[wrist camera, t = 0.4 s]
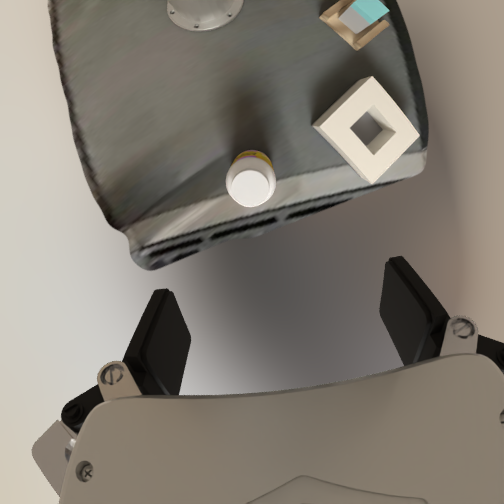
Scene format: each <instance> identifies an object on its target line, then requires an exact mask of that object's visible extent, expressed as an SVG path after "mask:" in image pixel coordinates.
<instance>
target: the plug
mask: <svg viewBox="0 0 504 504" xmlns="http://www.w3.org/2000/svg"><path fill="white" fill-rule="evenodd" d="M388 11H389V10H388V9H387V8H386V7H385V6H384V5H383V4H382V3H381V2H380V1H379V0H356V1H355V2H354V3H353V4H352V5H351V6H350V7H349V8H348V9H347V10H346V11H345V12H344V13H343V14H342V15H341V16H340V17H339V18H338V19H339V20H340V21H341V22H343V23H344V24H345V25H346V26H347V27H348V28H349V29H350V30H352V31H353V32H354V33H355V34H358V33H359V32H361V31H362V30H363V29H365V28H366V27H368V26H369V25H371V24H372V23H374V22H375V21H376V20H378V19H379V18H380V17H382V16H383V15H384V14H386V13H387V12H388Z"/></svg>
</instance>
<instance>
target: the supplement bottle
mask: <svg viewBox="0 0 504 504" xmlns="http://www.w3.org/2000/svg"><path fill="white" fill-rule="evenodd" d="M275 186H276V177H275V173H274V169H273V166H272V163H271V161H270V159H269V158H268V157H267V156H266V155H265V154H264V153H262V152H260V151H256V150H248V151H244V152H242V153H241V154H239V155H238V156H237V157H236V158H235V160H234V161H233V163H232V165H231V167H230V169H229V171H228V173H227V176H226V187H227V190H228V192H229V194H230V195H231V197H232V198H233V199H234V200H235V201H237V202H238V203H239V204H241V205H243V206H246V207H255V206H258V205H260V204H262V203H264V202H265V201H267V200H268V199H269V198H270V197H271V195H272V194H273V192H274V190H275Z"/></svg>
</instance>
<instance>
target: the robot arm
mask: <svg viewBox="0 0 504 504" xmlns="http://www.w3.org/2000/svg"><path fill="white" fill-rule="evenodd" d="M167 1H168V2H167V12H168V15H169V17H170V19H171V20H172V21H173V22H174V23H175V24H176V25H177V26H179V27H181V28H183V29H186V30H189V31H197V32H203V31H210V30H214V29H217V28H220V27H222V26H224V25H226V24H227V23H229V22H231V21H232V20H233V19H234V18H235V17H236V16H237V15H238V14H239V13H240V11H241V9H242V7H243V3H244V0H167ZM173 13H174V14H173ZM230 15H231V17H229V16H230ZM196 27H198V28H196ZM380 316H381V318H382V320H383V322H384V324H385V326H386V328H387V330H388V332H389V334H390V336H391V339H392V341H393V343H394V345H395V347H396V349H397V351H398V353H399V356H400V358H401V360H402V362H403V364H404V366H403V367H400V368H396V369H392V370H388V371H384V372H380V373H376V374H372V375H367V376H364V377H359V378H354V379H350V380H344V381H339V382H333V383H329V384H322V385H316V386H310V387H303V388H296V389H288V390H279V391H269V392H259V393H245V394H229V395H228V394H227V395H179V392H180V387H181V383H182V378H183V374H184V369H185V365H186V360H187V356H188V352H189V348H190V344H191V335H190V333H189V331H188V328H187V326H186V323H185V321H184V318H183V316H182V314H181V311H180V308H179V306H178V304H177V301H176V298H175V296H174V293H173V292H172V291H169V290H168V289H167V288H166V289H157V290H155V291H154V292H153V295H152V296H151V299H150V301H149V303H148V305H147V307H146V309H145V311H144V313H143V315H142V317H141V320H140V322H139V324H138V326H137V328H136V330H135V332H134V335H133V337H132V339H131V341H130V344H129V346H128V348H127V350H126V353H125V355H124V358H123V360H122V362H121V361H112V362H110V363H107V364H106V365H104V366H103V367H102V368H101V370H100V371H99V373H98V376H97V381H98V384H97V385H96V386H94V387H92V388H91V389H89V390H87V391H86V392H84V393H83V394H81V395H79V396H78V397H76V398H74V399H73V400H71V401H69V403H67V404H66V405H65V406H64V408H63V410H62V413H61V418H62V420H61V421H59V420H57V421H56V422H55V423H54V424H53V425H52V426H51V427H50V428H49V429H48V430H47V431H46V432H45V433H44V434H43V435H42V436H41V437H40V438H39V439H38V440H37V441H36V442H35V443H34V445H33V448H32V456H33V458H34V460H35V461H36V463H37V465H38V466H39V468H40V469H41V471H42V472H43V474H44V476H45V477H46V478H47V480H48V481H49V483H50V484H51V486H52V487H53V488H54V490H55V491H56V493H57V494H58V495H59V497H60V500H59V504H504V343H502V342H499V341H496V340H493V339H490V338H487V337H484V336H481V335H479V334H478V327H477V325H476V324H475V323H474V321H473V320H471V319H470V318H468V317H466V316H454V317H452V318H450V317H449V315H448V313H447V312H446V310H445V309H444V308H443V306H442V305H441V303H440V302H439V301H438V299H437V298H436V297H435V296H434V294H433V293H432V292H431V290H430V289H429V288H428V287H427V285H426V284H425V283H424V282H423V280H422V279H421V278H420V277H419V275H418V274H417V273H416V272H415V271H414V269H413V268H412V267H411V266H410V265H409V263H408V262H407V261H406V260H405V259H404V258H403V257H402V256H398V257H392V258H389V261H388V262H386V264H385V272H384V280H383V288H382V296H381V303H380Z"/></svg>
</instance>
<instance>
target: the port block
mask: <svg viewBox="0 0 504 504" xmlns="http://www.w3.org/2000/svg"><path fill="white" fill-rule="evenodd" d="M311 126H312V127H313V128H314V129H315V130H316V131H317V132H318V133H319V134H320V135H321V136H322V137H323V138H324V139H325V140H326V141H327V142H328V143H329V144H330V145H331V146H332V147H333V148H334V149H335V150H336V151H337V152H338V153H339V154H340V155H341V156H342V158H343V159H344V160H345V161H346V162H347V163H348V164H349V165H350V166H351V167H352V168H353V170H354V171H355V172H356V173H357V174H358V175H359V176H360V177H362V178H363V179H365V180H366V181H368V182H370V183H371V184H373V183H374V182H375V181H376V180H377V179H378V178H379V177H380V176H381V175H382V174H383V173H384V172H385V171H386V170H387V169H388V168H389V167H390V166H391V165H392V164H393V163H394V162H395V161H396V160H397V159H398V158H399V157H400V156H401V154H402V153H403V152H404V151H405V150H406V149H407V148H408V147H409V146H410V145H411V144H412V143H413V142H414V141H415V140H416V139H417V138H418V137H419V136H420V135H419V134H418V132H417V131H416V130H415V128H414V127H413V125H412V124H411V123H410V121H409V120H408V119H407V117H406V116H405V115H404V113H403V112H402V111H401V109H400V108H399V107H398V106H397V104H396V103H395V102H394V101H393V99H392V98H391V97H390V96H389V95H388V93H387V92H386V91H385V90H384V89H383V87H382V86H381V85H380V84H379V83H378V82H377V81H376V80H375V78H374V77H373V76H370V77H367V78H364V79H360V80H358V81H357V82H356V83H354V84H353V85H352V86H351V87H350V88H349V89H348V90H347V91H346V92H345V93H344V94H343V95H342V96H341V97H340V98H339V99H338V100H337V101H335V102H334V103H333V104H332V105H331V106H330V107H329V108H328V109H327V110H326V111H325V112H324V113H323V114H322V115H321V116H320V117H319V118H318V119H317V120H316V121H315V122H314V123H313V124H312V125H311Z"/></svg>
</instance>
